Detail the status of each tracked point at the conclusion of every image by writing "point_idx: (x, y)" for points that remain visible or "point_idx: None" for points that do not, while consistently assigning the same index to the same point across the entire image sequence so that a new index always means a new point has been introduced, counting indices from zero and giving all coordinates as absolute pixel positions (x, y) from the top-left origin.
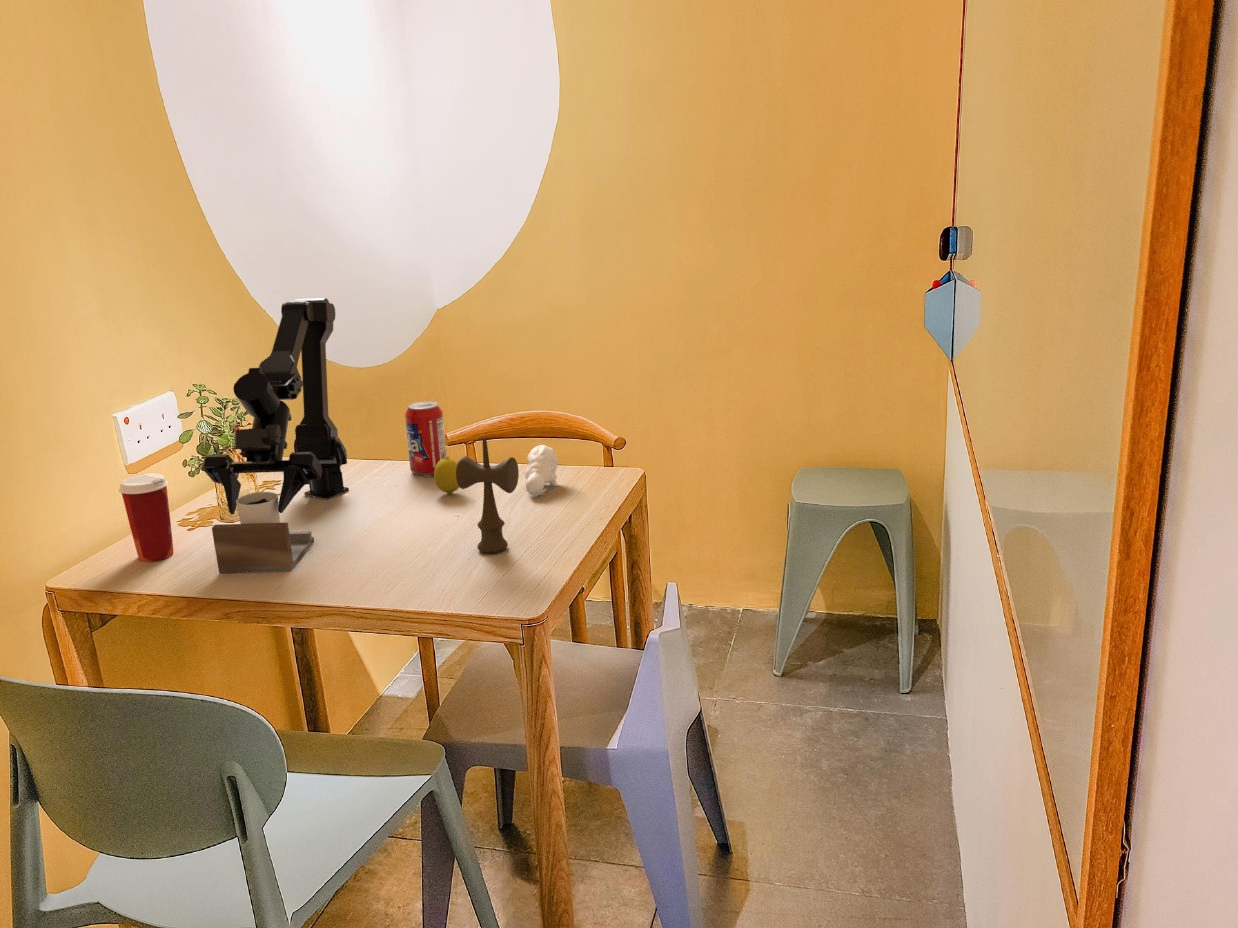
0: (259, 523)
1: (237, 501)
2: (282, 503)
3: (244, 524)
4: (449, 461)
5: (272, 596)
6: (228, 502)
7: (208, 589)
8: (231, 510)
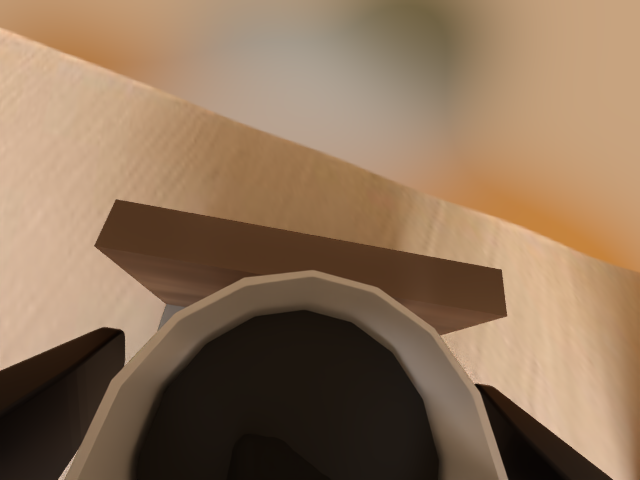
0: (264, 271)
1: (478, 429)
2: (48, 353)
3: (347, 277)
4: None
5: (224, 132)
6: (554, 441)
7: (393, 211)
8: (480, 390)
